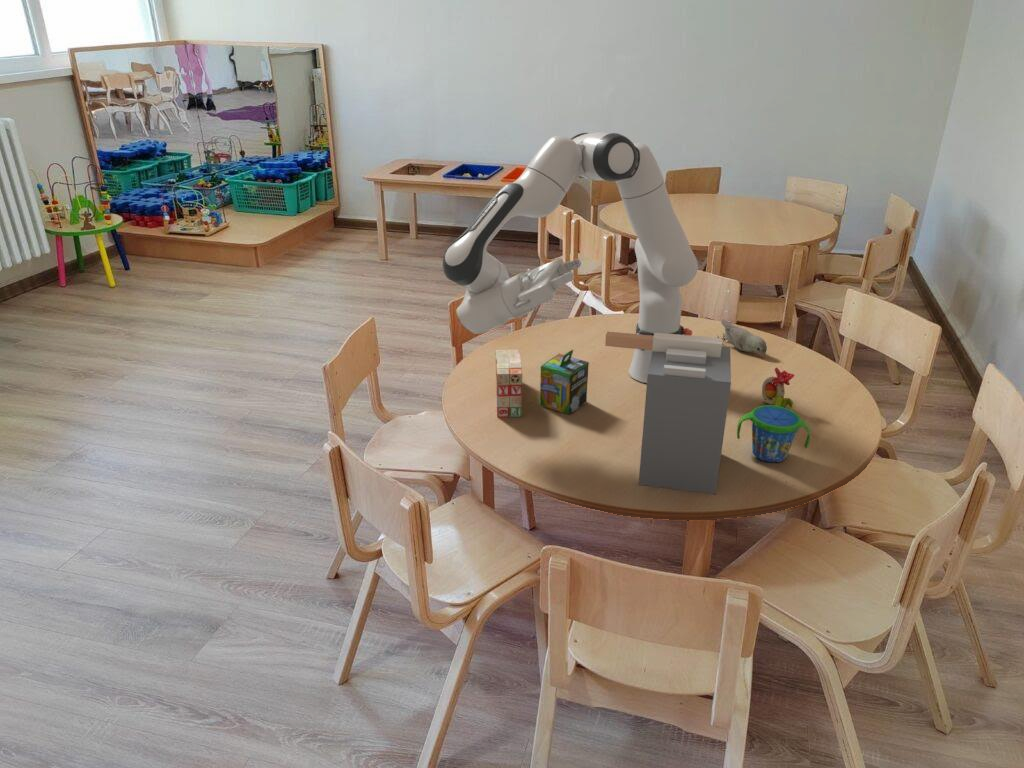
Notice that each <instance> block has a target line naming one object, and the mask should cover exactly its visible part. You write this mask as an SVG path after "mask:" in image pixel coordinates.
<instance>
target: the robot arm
mask: <svg viewBox="0 0 1024 768" xmlns="http://www.w3.org/2000/svg"><path fill="white" fill-rule="evenodd" d="M578 178H580V179H586V180H590V181H596V182H599V181H600V182H601V181H607V182H615V183H616V185H617V188H618V192H619V195H620V198H621V201H622V204H623V207H624V209H625V213H626V215H627V218H628V221H629V223H630V226H631V228H632V230H633V232H634V233H635V236H636V237H637V238H636V239H635V243H634V252H635V256H636V264H637V280H638V288H639V308H638V322H637V324H636V326H635V334H641V335H652V336H654V332H656V333H667V334H678V335H690V336H693V330H691V329H690V328H688V327H685V328H684V326H683V325H681V318H682V317H681V316H682V308H683V297H682V294H681V289H680V287H681V288H682V287H684V286H687V285H688V284H690V282H692V281H693V280H694V279H695V277H696V275H697V274H698V269H699V263H698V260H697V259H698V258H697V257H696V255H695V254H694V251H693V250H692V248H691V246H690V242H689V240H688V237H687V235H686V234H685V232H684V229H683V227H682V225H681V223H680V221H679V219H678V217H677V215H676V212H675V210H674V207H673V203H672V202H671V199H670V195H669V193H668V189H667V186H666V182H665V181H664V180H665V179H664V177H663V174H662V171H661V169H660V165H659V164H658V162H657V160H656V158H655V156H654V154H653V152H652V150H651V149H650V147H648V146H647V144H644V143H642V142H632V141H631V139H630V138H628V137H626V136H625V135H623V134H620V133H617V132H613V133H612V132H606V131H596V132H581V133H579V134H576V135H575V136H573V137H571V138H570V137H567V136H565V135H560V134H559V135H553V136H551V137H550V138H548V139H547V140H546V141H545V142H544V144H543V145H542V146H541V147H540V148H539V149H538V151H537V152H536V153H535V155H534V156H533V157H532V159H531V160H530V161H529V162H528V164H527V166H526V168H525V169H524V170H523V172H522V173H521V174H520V176H518V178H517V179H516V180H515V181H513V182H510V183H506V184H505V185H503V187H501V188H500V189H499V190H498V191H496V193H495V194H494V195H493V197H491V199H490V200H489V201H488V203H487V204H486V205H485V206H484V207H483V209H482V210H480V212H479V213H478V214H477V215H476V217H475V218H474V220H472V222H471V223H470V224H469V226H468V227H467V228H466V229H465V230H464V231H463V232H462V233H461V234H460V235H459V236H458V237H457V238H456V239H455V240H454V241H452V242H451V243H450V244H449V245H448V246H447V248H446V249H445V251H444V254H443V258H442V270H443V273H444V276H445V277H446V278H447V279H448V280H449V281H452V282H453V283H455V284H457V285H460V286H462V287H463V288H465V292H464V297H463V299H462V302H461V303H460V305H459V306H458V307H457V308H456V315H457V318H458V321H459V323H460V324H461V325H462V327H464V329H466V330H467V331H468V332H470V333H472V334H473V335H480V334H483V333H486V332H491V331H493V330H495V329H498V328H500V327H502V326H504V325H505V324H507V323H508V322H509V321H511V320H514V319H519V318H521V317H523V316H525V315H527V314H528V315H529V313H531V312H534V311H536V310H537V309H538V308H539V306H540V305H543V304H544V303H545V304H546V302H549V301H550V300H552V299H553V298H554V296H555V295H556V293H557V292H558V290H559V289H561V288H562V287H564V286H566V284H568V283H570V282H572V281H574V278H575V275H574V273H573V270H577V269H578V268H581V266H582V261H581V260H580V258H575V259H573V260H569V261H566V262H564V260H563V259H562V258H559V259H555V260H552V261H549V262H547V263H544V264H542V265H540V266H537V267H535V268H533V269H532V270H531V268H527V269H525V270H524V271H522V272H521V273H518V274H516V275H514V276H512V277H511V276H510V272H509V270H508V268H507V267H506V265H505V264H503V263H502V262H501V261H500V260H498V259H497V258H496V257H495V256H493V255H492V254H490V253H489V252H488V251H487V247H488V246H489V244H490V242H492V241H493V239H494V238H495V236H496V235H498V232H500V230H501V229H502V228H503V227H504V225H506V223H507V222H508V221H509V220H510V219H512V218H514V217H520V216H521V217H527V218H533V219H536V218H537V219H538V218H539V219H540V218H544V217H548V216H549V215H551V214H552V213H554V212H555V211H556V209H558V207H559V206H560V204H561V202H562V201H563V200H564V198H565V196H566V195H567V193H568V192H569V191H570V188H571V186H572V184H573V183H574V182H575V181H576V180H577V179H578ZM651 355H652V350H643V349H634V353H633V356H632V360H631V364H630V367H629V369H628V375H629V376H630V377H631V378H632V379H634V380H636V381H638V382H641V383H644V384H647V377H648V370H649V365H650V360H651Z"/></svg>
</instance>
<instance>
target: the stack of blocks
mask: <svg viewBox="0 0 1024 768" xmlns="http://www.w3.org/2000/svg"><path fill="white" fill-rule="evenodd" d="M494 355H495V357H494V360H495V388H496V389H495V390H496V391H495V392H496V418H522V416H523V411H522V410H523V403H522V401H523V400H522V399H523V397H522V396H523V367H522V359H521V353H520V352H519V350H518V349H495V351H494Z"/></svg>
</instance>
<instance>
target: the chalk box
mask: <svg viewBox="0 0 1024 768" xmlns="http://www.w3.org/2000/svg"><path fill="white" fill-rule="evenodd" d="M573 353H574V349H571V350H570V351H568V352H566V353H565V354H562V353H558V354H556V355H555V356H553V357H552V358H550V359H549V360H547V361H546V362H544V363H543V364H541V366H540V382H539V383H540V384H539V385H540V386H539V387H540V388H539V389H540V390H539V391H540V395H539V397H540V398H539V400H540V401H539V403H540V404H539V405H540V406H542V407H545V408H547V409H551V410H552V411H553V410H554V411H557V412H559V413H562V414H565V415H569V416H570V415H571V414H572V413H573V412H575V411H576V410H577V409H579V408H581V406H583V405H584V404H586V403H587V400H588V399H587V396H588V383H589V382H588V379H589V367H590V366H589V365H590V362H589V361H585V360H582V359H579V358H575V357H573Z"/></svg>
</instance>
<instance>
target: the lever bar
mask: <svg viewBox="0 0 1024 768" xmlns="http://www.w3.org/2000/svg"><path fill="white" fill-rule="evenodd" d="M722 338H723V337H722ZM722 338H721V337H719V338H718V337H711V336H701V335H700V336H699V335H691V336H690V335H684V334H683V335H678V334H667V333H656V332H654V336H652V335H641V334H636V333H630V332H629V333H628V332H627V333H626V332H617V331H616V332H615V331H606V333H605V343H604V344H605V347H613V348H623V349H624V348H625V349H632V350H635V349H643V350H652V351H657V352H666V351H667V348H671V349H682V350H693V351H704V352H706V356H710V357H720V356H721V348H722V346H723V340H722Z"/></svg>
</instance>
